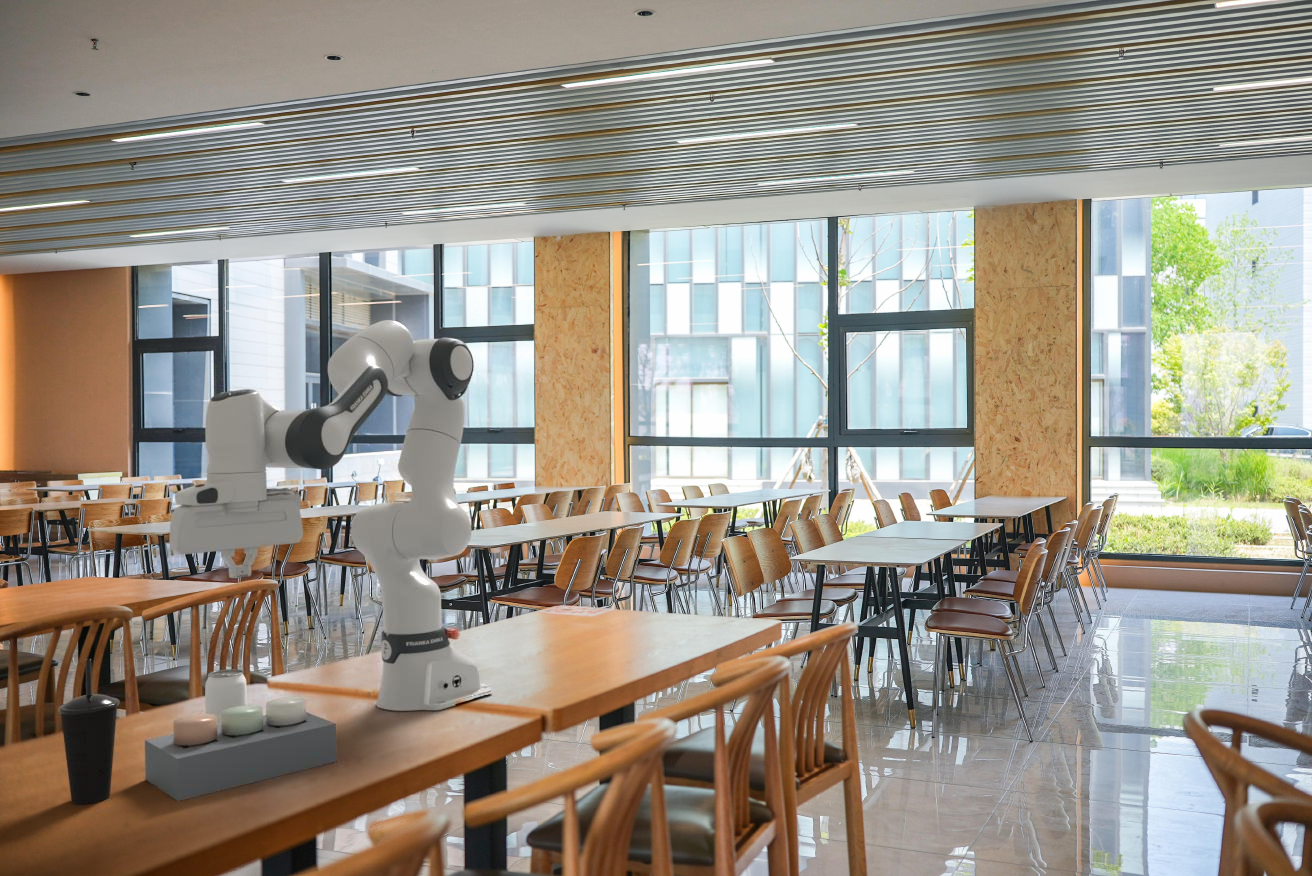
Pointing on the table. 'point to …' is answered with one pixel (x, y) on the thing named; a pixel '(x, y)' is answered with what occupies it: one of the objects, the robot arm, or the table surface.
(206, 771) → the mount
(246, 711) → the knob mid
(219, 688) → the can
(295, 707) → the knob
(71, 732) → the drinking cup
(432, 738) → the table surface
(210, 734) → the knob
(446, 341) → the robot arm
